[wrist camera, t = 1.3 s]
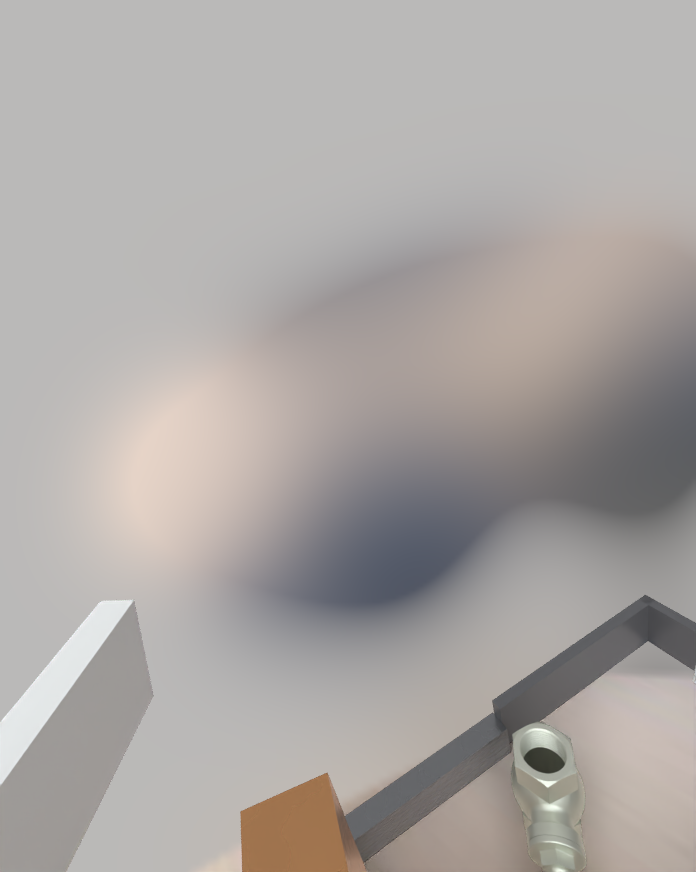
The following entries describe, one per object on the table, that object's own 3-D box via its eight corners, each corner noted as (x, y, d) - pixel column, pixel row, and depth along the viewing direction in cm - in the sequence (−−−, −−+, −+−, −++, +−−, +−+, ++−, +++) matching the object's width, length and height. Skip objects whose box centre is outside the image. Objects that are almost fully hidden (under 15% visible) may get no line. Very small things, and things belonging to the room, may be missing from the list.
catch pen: (973, 837, 24) (994, 790, 22) (797, 1088, 19) (810, 1049, 17) (645, 630, 39) (645, 594, 38) (498, 737, 34) (492, 700, 33)
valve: (496, 776, 32) (508, 1048, 21) (484, 713, 30) (491, 983, 19) (600, 788, 30) (670, 1095, 19) (596, 721, 28) (674, 1029, 17)
